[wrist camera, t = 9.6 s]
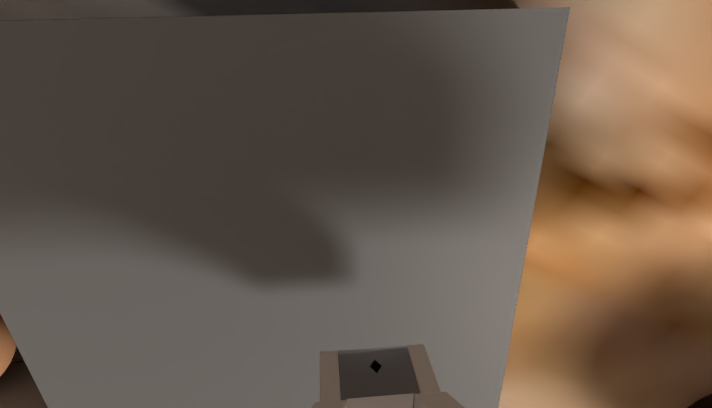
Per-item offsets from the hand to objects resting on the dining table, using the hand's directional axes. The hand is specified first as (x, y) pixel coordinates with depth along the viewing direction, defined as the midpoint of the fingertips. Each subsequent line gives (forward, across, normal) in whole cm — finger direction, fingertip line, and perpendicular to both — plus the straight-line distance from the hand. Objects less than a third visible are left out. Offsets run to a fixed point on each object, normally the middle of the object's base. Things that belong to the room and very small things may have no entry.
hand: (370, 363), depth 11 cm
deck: (+5, +7, +1) cm, 8 cm away
